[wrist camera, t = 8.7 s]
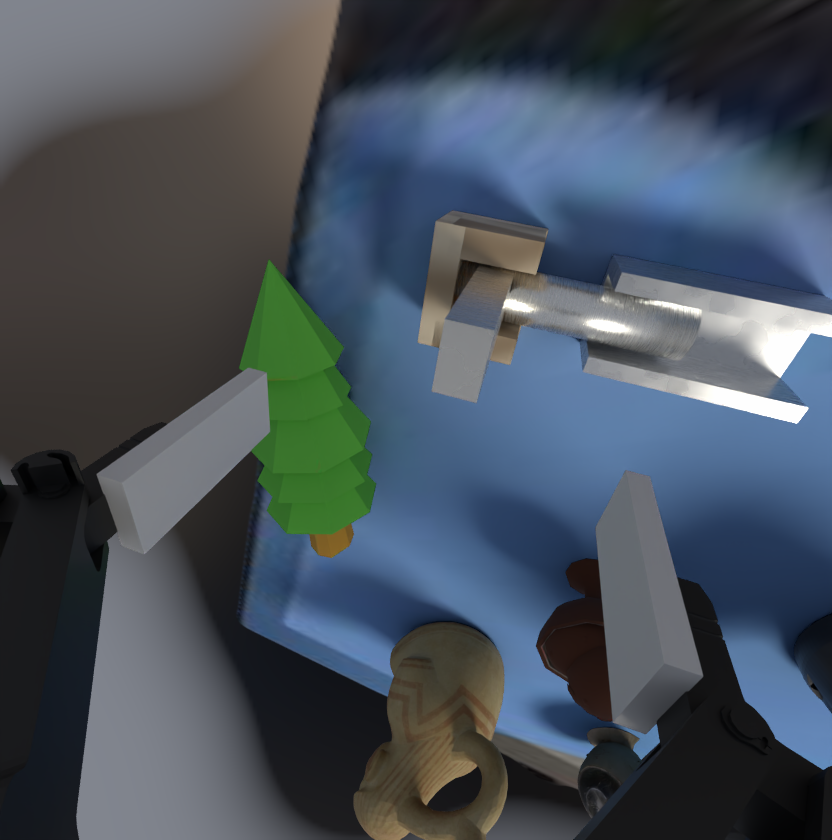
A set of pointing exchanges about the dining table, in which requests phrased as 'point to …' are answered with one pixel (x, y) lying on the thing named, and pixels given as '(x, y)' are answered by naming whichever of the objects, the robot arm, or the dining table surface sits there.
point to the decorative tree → (307, 421)
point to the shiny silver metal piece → (549, 321)
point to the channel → (717, 337)
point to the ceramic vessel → (437, 737)
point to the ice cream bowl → (580, 642)
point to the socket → (480, 244)
